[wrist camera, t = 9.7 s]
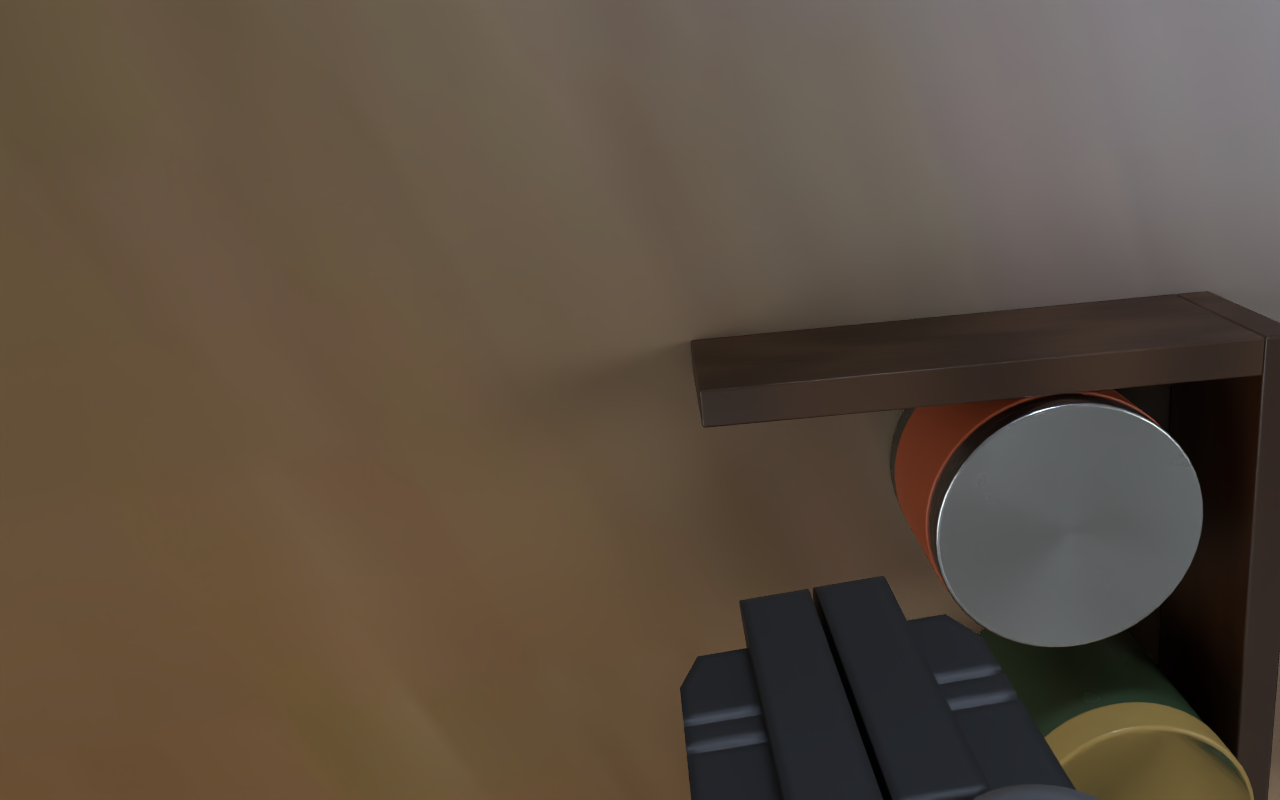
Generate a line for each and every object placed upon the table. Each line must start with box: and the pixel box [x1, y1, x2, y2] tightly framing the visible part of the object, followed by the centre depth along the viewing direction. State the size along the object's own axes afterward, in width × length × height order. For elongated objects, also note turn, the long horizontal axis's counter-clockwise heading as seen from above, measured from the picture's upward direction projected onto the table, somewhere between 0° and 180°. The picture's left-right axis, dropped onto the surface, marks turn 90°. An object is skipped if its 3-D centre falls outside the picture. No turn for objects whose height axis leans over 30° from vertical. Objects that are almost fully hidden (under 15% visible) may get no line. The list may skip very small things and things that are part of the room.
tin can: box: [890, 389, 1203, 648], centre depth 32 cm, size 7×7×6 cm
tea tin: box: [979, 629, 1254, 800], centre depth 33 cm, size 6×6×7 cm
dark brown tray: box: [691, 291, 1280, 800], centre depth 33 cm, size 15×17×5 cm
